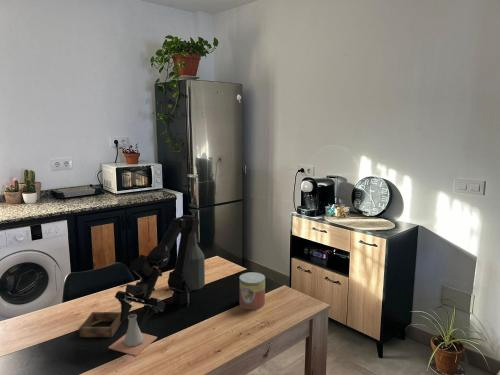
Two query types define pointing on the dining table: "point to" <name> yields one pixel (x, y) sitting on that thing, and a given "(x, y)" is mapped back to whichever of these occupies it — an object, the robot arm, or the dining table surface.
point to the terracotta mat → (134, 349)
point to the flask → (133, 333)
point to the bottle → (196, 265)
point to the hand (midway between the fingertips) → (129, 324)
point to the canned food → (252, 290)
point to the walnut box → (100, 331)
